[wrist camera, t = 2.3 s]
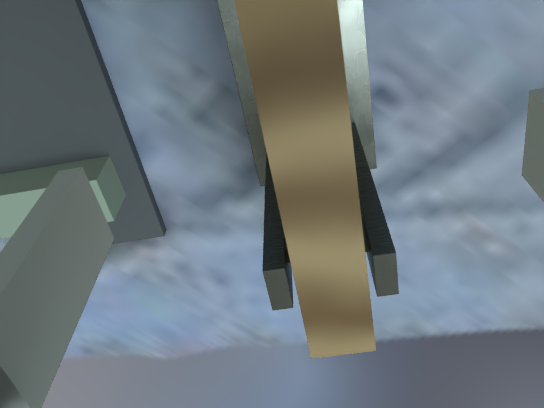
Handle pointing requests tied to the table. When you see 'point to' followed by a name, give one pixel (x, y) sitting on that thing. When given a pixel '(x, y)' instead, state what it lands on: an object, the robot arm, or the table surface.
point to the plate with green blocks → (65, 120)
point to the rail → (312, 164)
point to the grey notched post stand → (364, 151)
